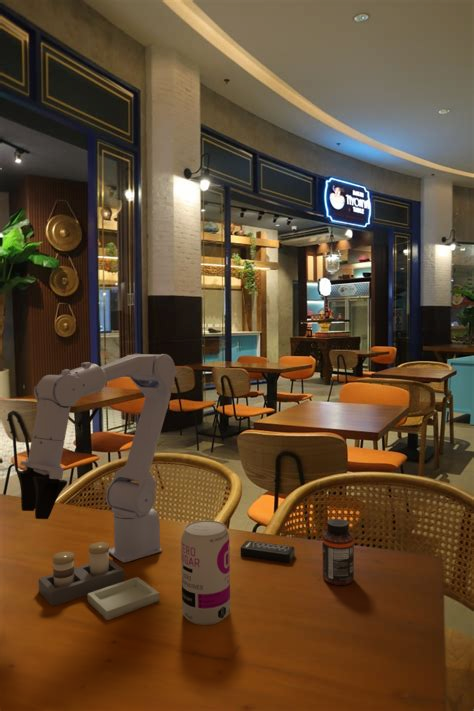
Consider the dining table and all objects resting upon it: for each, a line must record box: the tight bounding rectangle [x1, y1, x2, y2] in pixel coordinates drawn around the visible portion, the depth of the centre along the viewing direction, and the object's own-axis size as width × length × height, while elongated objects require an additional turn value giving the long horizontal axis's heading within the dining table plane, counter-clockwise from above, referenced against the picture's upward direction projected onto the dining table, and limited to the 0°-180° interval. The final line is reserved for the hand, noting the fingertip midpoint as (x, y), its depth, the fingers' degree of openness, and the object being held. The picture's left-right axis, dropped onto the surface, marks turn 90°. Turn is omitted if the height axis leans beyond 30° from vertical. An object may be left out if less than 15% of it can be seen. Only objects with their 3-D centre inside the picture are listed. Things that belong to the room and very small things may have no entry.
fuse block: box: [38, 558, 125, 607], centre depth 101 cm, size 14×7×2 cm, turn 129°
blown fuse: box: [52, 551, 75, 588], centre depth 99 cm, size 4×4×7 cm
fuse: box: [88, 541, 110, 576], centre depth 103 cm, size 4×4×7 cm
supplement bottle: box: [321, 518, 355, 586], centre depth 103 cm, size 6×6×11 cm
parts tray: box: [87, 576, 160, 621], centre depth 96 cm, size 10×8×2 cm
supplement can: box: [180, 519, 231, 626], centre depth 91 cm, size 8×8×15 cm
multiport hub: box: [240, 540, 295, 564], centre depth 115 cm, size 4×11×2 cm, turn 69°
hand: (34, 514), depth 96 cm, fingers open, 7 cm apart
